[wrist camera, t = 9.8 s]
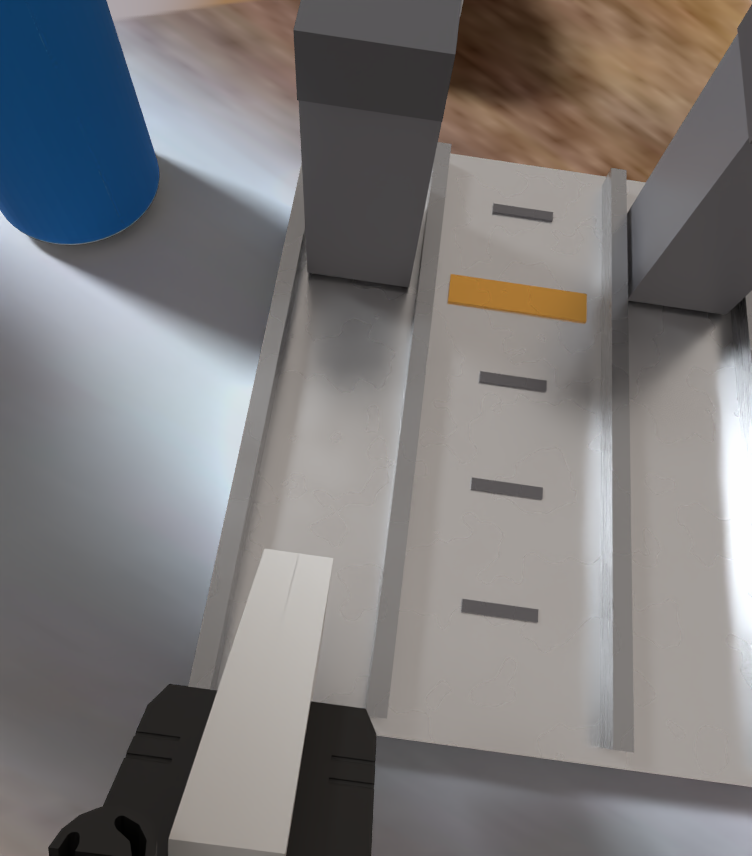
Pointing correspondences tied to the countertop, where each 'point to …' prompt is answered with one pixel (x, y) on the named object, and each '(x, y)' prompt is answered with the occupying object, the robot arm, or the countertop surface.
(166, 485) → the countertop surface
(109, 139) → the beverage can
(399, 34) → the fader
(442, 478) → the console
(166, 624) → the countertop surface
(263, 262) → the countertop surface
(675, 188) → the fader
